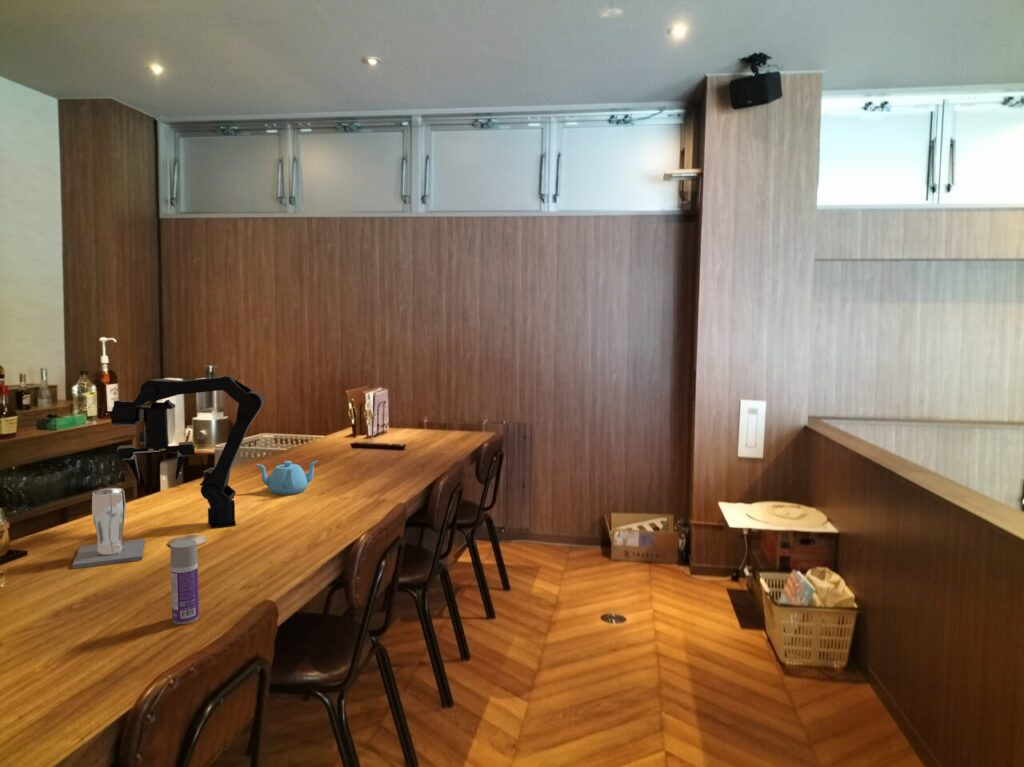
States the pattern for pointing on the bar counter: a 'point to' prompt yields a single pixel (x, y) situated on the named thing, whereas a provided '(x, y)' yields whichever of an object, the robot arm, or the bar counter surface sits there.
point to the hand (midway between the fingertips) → (157, 481)
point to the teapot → (287, 478)
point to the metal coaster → (198, 538)
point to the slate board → (90, 558)
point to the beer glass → (109, 520)
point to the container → (184, 582)
